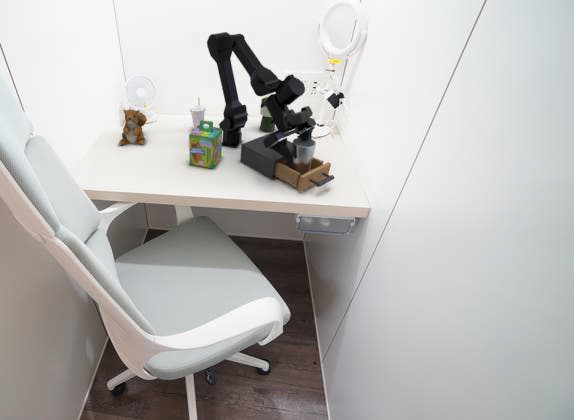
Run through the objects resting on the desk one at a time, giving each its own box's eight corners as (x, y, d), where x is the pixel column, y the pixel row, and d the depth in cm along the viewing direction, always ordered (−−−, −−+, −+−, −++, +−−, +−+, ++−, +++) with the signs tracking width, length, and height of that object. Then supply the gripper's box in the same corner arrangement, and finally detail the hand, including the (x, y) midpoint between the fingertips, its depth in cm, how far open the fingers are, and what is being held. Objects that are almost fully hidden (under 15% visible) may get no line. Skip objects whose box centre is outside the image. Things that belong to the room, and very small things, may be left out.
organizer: (301, 165, 112) (304, 147, 107) (271, 179, 105) (274, 161, 101) (268, 150, 122) (270, 132, 118) (240, 161, 115) (241, 144, 111)
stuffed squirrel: (118, 146, 128) (112, 114, 120) (128, 131, 139) (123, 101, 131) (142, 147, 127) (138, 114, 119) (151, 132, 138) (147, 101, 130)
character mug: (276, 135, 132) (280, 103, 124) (258, 134, 133) (261, 103, 125) (275, 124, 140) (279, 94, 132) (258, 124, 141) (261, 94, 133)
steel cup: (285, 176, 103) (290, 144, 96) (290, 166, 108) (295, 135, 101) (307, 180, 101) (313, 148, 94) (311, 170, 105) (318, 139, 99)
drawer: (338, 182, 101) (342, 168, 98) (311, 197, 95) (314, 183, 92) (293, 160, 113) (295, 147, 110) (266, 172, 107) (267, 159, 104)
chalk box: (189, 165, 114) (187, 125, 105) (198, 153, 121) (197, 115, 112) (213, 169, 111) (213, 129, 102) (222, 157, 118) (222, 118, 109)
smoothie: (205, 133, 135) (204, 100, 126) (190, 133, 136) (188, 100, 127) (206, 127, 140) (206, 95, 131) (192, 127, 141) (190, 94, 132)
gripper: (274, 106, 90) (299, 156, 89) (317, 92, 98) (340, 137, 97) (252, 124, 99) (275, 169, 99) (293, 110, 108) (314, 151, 107)
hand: (302, 156), depth 100 cm, fingers open, 9 cm apart
